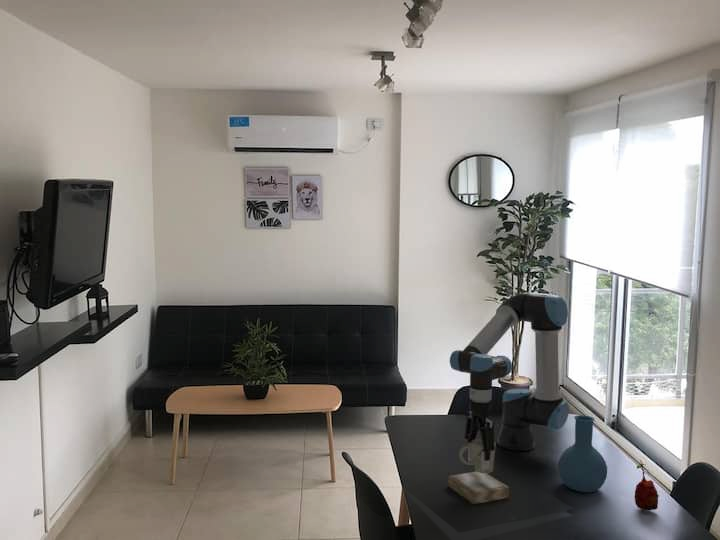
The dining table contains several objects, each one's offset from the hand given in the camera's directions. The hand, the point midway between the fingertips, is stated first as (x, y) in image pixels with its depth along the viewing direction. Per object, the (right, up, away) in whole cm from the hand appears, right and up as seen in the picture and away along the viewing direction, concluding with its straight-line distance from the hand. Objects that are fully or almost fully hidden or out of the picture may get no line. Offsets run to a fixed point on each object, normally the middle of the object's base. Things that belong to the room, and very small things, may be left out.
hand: (478, 464), depth 225 cm
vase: (+38, -10, +6) cm, 40 cm away
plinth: (0, -10, +1) cm, 10 cm away
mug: (0, -2, 0) cm, 2 cm away
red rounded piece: (+54, -11, -10) cm, 56 cm away
